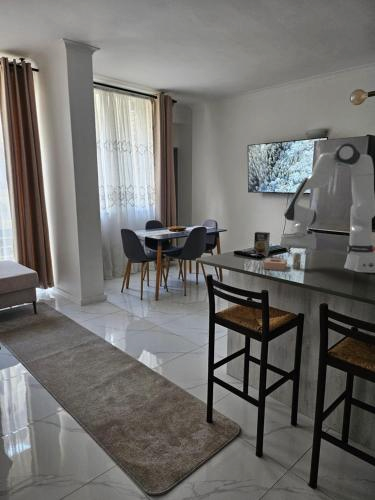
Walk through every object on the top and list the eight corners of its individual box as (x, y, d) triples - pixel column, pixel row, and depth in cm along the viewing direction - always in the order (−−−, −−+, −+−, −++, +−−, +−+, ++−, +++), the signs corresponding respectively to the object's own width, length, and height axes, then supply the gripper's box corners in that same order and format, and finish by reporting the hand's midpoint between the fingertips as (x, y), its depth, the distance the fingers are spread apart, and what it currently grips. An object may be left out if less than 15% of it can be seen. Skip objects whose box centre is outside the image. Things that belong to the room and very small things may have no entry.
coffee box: (253, 255, 235) (254, 232, 232) (256, 254, 240) (256, 231, 237) (266, 257, 231) (267, 233, 228) (269, 255, 236) (270, 232, 233)
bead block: (286, 265, 206) (286, 259, 205) (284, 270, 195) (285, 263, 194) (266, 264, 210) (266, 257, 209) (263, 268, 199) (263, 262, 198)
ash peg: (300, 268, 200) (301, 253, 199) (299, 269, 197) (300, 254, 195) (293, 267, 202) (294, 252, 200) (292, 269, 198) (293, 253, 196)
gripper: (281, 230, 209) (278, 249, 202) (317, 232, 202) (315, 251, 195) (281, 236, 214) (279, 255, 207) (316, 238, 207) (315, 257, 199)
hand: (297, 253), depth 201 cm, fingers open, 8 cm apart
